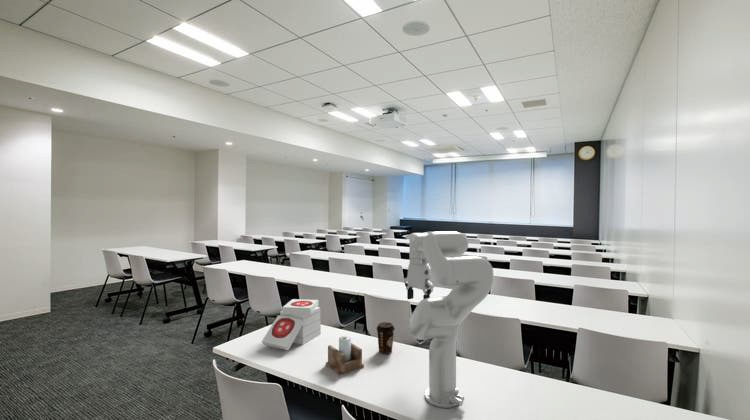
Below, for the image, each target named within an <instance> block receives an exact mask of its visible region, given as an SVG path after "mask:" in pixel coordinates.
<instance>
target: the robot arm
mask: <svg viewBox="0 0 750 420" xmlns="http://www.w3.org/2000/svg"><path fill="white" fill-rule="evenodd" d="M468 240H469V239H468V238H467V237H466V235H464V234H463V233H462V232H458V231H454V230H453V231H452V230H451V231H431V232H428V233H425V232H424V233H423V232H412V233H410V234H409V240H408V241H409V243H408V245H409V248H408V249H409V258H408V259H409V263H408V268H407V276H406V277H405V278H403V282H404V286H405V287H406V288H405V289H406V292H407V294H406V295H407V297H406V298H407V300H413V299H414V289H416V290H417V289H418V290H422V292H423V295H422V296H423V299H421V300H420V301H419V302H418V304H417V305H416V307H415V309H414V311H412V314H411V315H410V319H409V325H408V326H409V332H410V333H411V336H412V337H413V338H415V340H416V339H417V340H420V341H422V340H423V341H424V340H431V339H432V340H431V342H430V345H429V347H428V348H429V349H428V365H429V366H428V380H429V381H428V387H427V389H426V390H425V391H424V398H425V400H426V402H428V403H429V404H430V405H432V406H434V407H438V408H442V409H449V408H454V407H457V406H459V407H462V406H463V404H464V400H465V397H464V396H463V395H461V394H460V393H459V391H460V390H459V388H458V387H457V338H458V335H459V334H458V333H459V328H460V324H461V323H462V322H463V321H464V320H465V319H466V318H467V317H468V316H469V315H470V313H472V311H473V310H474V309H475V308H476V307H477V306H478V305H479V304H481V303H482V302H483V301H484V300H485V299H486V298H487V296H488V295H489V293H490V291H491V289H492V286H493V282H494V270H493V269H494V268H493V265H492V264H491V262H489V261H488V260H487V259H485V258H484V257H481V256H475V255H466V256H465V255H464V254H465V253H466V252H467V250H468V248H469V241H468ZM463 255H464V256H463ZM430 271H431V272H430ZM431 273H432V275H433V277H434V280H435V281H436V282H437V283H438V284H439V285H441V286H455V287H454V288H452V289H451V290H450V292H449V293H448V294H447V295H446V296H436V297H434V296H433V297H431V295H432V293H433V291H434V288H435V284H433V283H432V282H431Z"/></svg>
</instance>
